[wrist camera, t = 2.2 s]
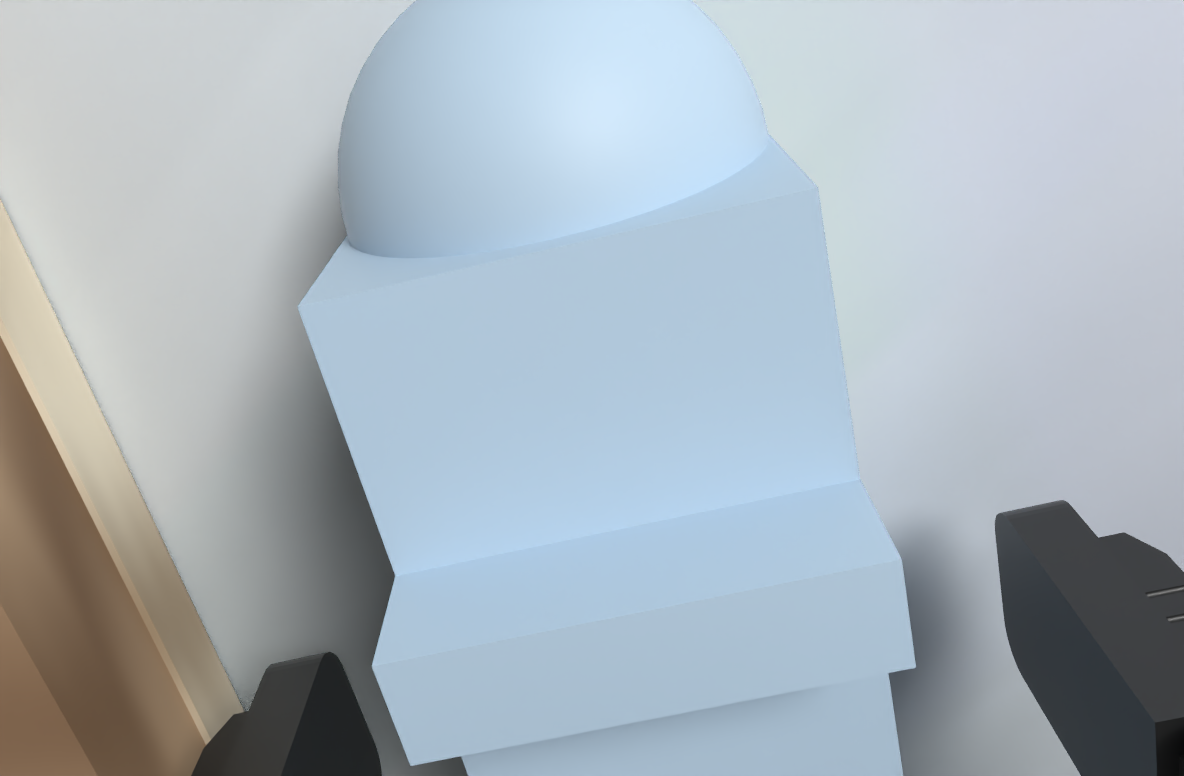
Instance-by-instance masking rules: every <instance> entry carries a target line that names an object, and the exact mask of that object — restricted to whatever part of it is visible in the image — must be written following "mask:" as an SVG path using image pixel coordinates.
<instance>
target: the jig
mask: <svg viewBox="0 0 1184 776" xmlns="http://www.w3.org/2000/svg"><path fill="white" fill-rule="evenodd" d="M242 712H244V710H243V708H242V706H241V704H240V702H239V700H238V697H237V695H236V693H235V691H234V689H233V687H232V685H231V683H230V681H229V678H228V676H227V674H226V672H225V670H224V668H223V666H222V664H221V662H220V660H219V657H218V655H217V653H216V651H215V649H214V647H213V645H212V643H211V641H210V639H209V636H208V634H207V632H206V630H205V628H204V626H203V624H202V622H201V620H200V618H199V615H198V613H197V611H196V609H195V607H194V605H193V603H192V601H191V599H190V597H189V594H188V592H187V590H186V588H185V586H184V584H183V582H182V580H181V578H180V575H179V573H178V571H177V569H176V567H175V565H174V563H173V561H172V559H171V557H170V554H169V552H168V550H167V548H166V546H165V544H164V542H163V540H162V538H161V536H160V533H159V531H158V529H157V527H156V525H155V523H154V521H153V519H152V517H151V515H150V512H149V510H148V508H147V506H146V504H145V502H144V500H143V498H142V496H141V494H140V491H139V489H138V487H137V485H136V483H135V481H134V479H133V477H132V475H131V472H130V470H129V468H128V466H127V464H126V462H125V460H124V458H123V456H122V454H121V451H120V449H119V447H118V445H117V443H116V441H115V439H114V437H113V435H112V433H111V430H110V428H109V426H108V424H107V422H106V420H105V418H104V416H103V414H102V412H101V409H100V407H99V405H98V403H97V401H96V399H95V397H94V395H93V393H92V391H91V388H90V386H89V384H88V382H87V380H86V378H85V376H84V374H83V372H82V369H81V367H80V365H79V363H78V361H77V359H76V357H75V355H74V353H73V351H72V348H71V346H70V344H69V342H68V340H67V338H66V336H65V334H64V332H63V330H62V327H61V325H60V323H59V321H58V319H57V317H56V315H55V313H54V311H53V309H52V306H51V304H50V302H49V300H48V298H47V296H46V294H45V292H44V290H43V288H42V285H41V283H40V281H39V279H38V277H37V275H36V273H35V271H34V269H33V266H32V264H31V262H30V260H29V258H28V256H27V254H26V252H25V250H24V248H23V245H22V243H21V241H20V239H19V237H18V235H17V233H16V231H15V229H14V227H13V224H12V222H11V220H10V218H9V216H8V214H7V212H6V210H5V208H4V206H3V203H2V201H1V199H0V776H191V775H192V773H193V770H194V768H195V766H196V764H197V762H198V759H199V757H200V755H201V753H202V750H203V748H204V747H205V746H206V745H207V744H208V743H209V741H210V740H211V739H212V738H213V737H214V736H215V735H216V734H217V732H218V731H219V730H220V729H221V728H222V727H223V726H224V725H225V723H226V722H227V721H228V720H229V719H230V718H231V717H232V716H233V714H238V713H242Z"/></svg>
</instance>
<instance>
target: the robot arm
mask: <svg viewBox="0 0 1184 776" xmlns="http://www.w3.org/2000/svg"><path fill="white" fill-rule="evenodd" d="M995 534H996V544H997V554H998V563H999V573H1000V583H1001V593H1002V602H1003V612H1004V621H1005V627H1006V632H1007V637H1008V640H1009V644H1010V647H1011V651H1012V654H1013V656H1014V659H1015V662H1016V664H1017V666H1018V669H1019V671H1020V673H1021V675H1022V677H1023V678H1024V680H1025V682H1026V683H1027V685H1028V687H1029V689H1030V690H1031V692H1032V694H1033V695H1034V697H1035V699H1036V700H1037V702H1038V704H1039V705H1040V707H1041V709H1042V710H1043V712H1044V714H1045V716H1046V717H1047V719H1048V721H1049V722H1050V724H1051V726H1052V727H1053V729H1054V731H1055V732H1056V734H1057V736H1058V738H1059V739H1060V741H1061V743H1062V744H1063V746H1064V748H1065V749H1066V751H1067V753H1068V754H1069V756H1070V758H1071V759H1072V761H1073V763H1074V765H1075V766H1076V768H1077V770H1078V771H1079V773H1080V775H1081V776H1184V572H1183V571H1182V570H1181V569H1180V568H1179V567H1178V566H1177V565H1176V563H1175V562H1174V561H1173V560H1172V559H1171V558H1170V557H1169V556H1168V555H1167V554H1166V553H1164V552H1162V551H1160V550H1158V549H1156V548H1154V547H1152V546H1150V545H1148V544H1146V543H1144V542H1142V541H1140V540H1138V539H1136V538H1134V537H1132V536H1130V535H1128V534H1126V533H1119V534H1114V535H1110V536H1105V537H1100V538H1098V537H1097V536H1096V535H1095V534H1094V532H1093V531H1092V530H1091V529H1090V528H1089V526H1088V525H1087V524H1086V523H1085V522H1084V521H1083V519H1082V518H1081V517H1080V516H1079V515H1078V514H1077V512H1076V511H1075V510H1074V509H1073V508H1072V506H1071V505H1070V504H1069V503H1067V502H1066V501H1064V500H1060V501H1055V502H1051V503H1046V504H1041V505H1036V506H1032V507H1027V508H1022V509H1017V510H1012V511H1008V512H1003V513H999V514H998V515H997V516H996V520H995ZM191 776H382V774H381V766H380V760H379V755H378V752H377V748H376V746H375V743H374V741H373V738H372V736H371V733H370V731H369V728H368V726H367V724H366V721H365V719H364V716H363V714H362V712H361V709H360V707H359V704H358V702H357V700H356V697H355V695H354V692H353V690H352V687H351V685H350V683H349V680H348V678H347V675H346V673H345V671H344V668H343V666H342V664H341V662H340V660H339V659H338V657H337V656H336V655H335V654H333V653H331V652H327V653H322V654H317V655H313V656H308V657H303V658H298V659H294V660H289V661H284V662H279V663H275V664H271V665H270V666H269V667H268V668H267V669H266V671H265V673H264V675H263V678H262V680H261V683H260V685H259V687H258V690H257V692H256V695H255V697H254V699H253V702H252V704H251V707H250V709H249V711H247V712H242V713H238V714H233V716H232V717H231V718H230V719H229V720H228V721H227V722H226V723H225V725H224V726H223V727H222V728H221V729H220V730H219V731H218V732H217V734H216V735H215V736H214V737H213V738H212V739H211V740H210V741H209V743H208V744H207V745H206V746H205V747H204V748H203V750H202V753H201V755H200V757H199V759H198V762H197V764H196V766H195V768H194V770H193V773H192V775H191Z"/></svg>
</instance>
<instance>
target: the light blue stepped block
mask: <svg viewBox="0 0 1184 776" xmlns="http://www.w3.org/2000/svg"><path fill="white" fill-rule="evenodd" d="M338 188H339V196H340V204H341V212H342V217H343V221H344V224H345V228H346V232H347V236H346V237H345V239H344V240H343V242H342V243H341V245H340V246H339V248H338V249H337V250H336V252H335V253H334V255H333V256H332V258H331V259H330V261H329V262H328V263H327V265H326V266H325V268H324V269H323V271H322V272H321V274H320V275H319V276H318V278H317V279H316V281H315V282H314V284H313V285H312V286H311V288H310V289H309V291H308V292H307V294H306V295H305V297H304V298H303V299H302V301H301V302H300V304H299V305H298V310H299V313H300V316H301V318H302V321H303V324H304V327H305V329H306V332H307V335H308V337H309V340H310V343H311V346H312V348H313V351H314V354H315V357H316V359H317V362H318V365H319V368H320V370H321V373H322V376H323V379H324V381H325V384H326V387H327V390H328V392H329V395H330V398H331V401H332V403H333V406H334V409H335V412H336V414H337V417H338V420H339V423H340V425H341V428H342V431H343V434H344V436H345V439H346V442H347V445H348V447H349V450H350V453H351V456H352V458H353V461H354V464H355V467H356V469H357V472H358V475H359V478H360V480H361V483H362V486H363V488H364V491H365V494H366V497H367V499H368V502H369V505H370V508H371V510H372V513H373V516H374V519H375V521H376V524H377V527H378V530H379V532H380V535H381V538H382V541H383V543H384V546H385V549H386V552H387V554H388V557H389V560H390V563H391V565H392V568H393V571H394V574H395V579H394V583H393V587H392V591H391V595H390V598H389V602H388V606H387V610H386V614H385V617H384V621H383V625H382V629H381V633H380V636H379V640H378V644H377V648H376V652H375V656H374V659H373V663H372V669H373V671H374V674H375V676H376V679H377V682H378V684H379V687H380V689H381V692H382V694H383V697H384V699H385V702H386V705H387V707H388V710H389V712H390V715H391V717H392V720H393V722H394V725H395V728H396V730H397V733H398V735H399V738H400V740H401V743H402V745H403V748H404V751H405V753H406V756H407V758H408V761H409V763H410V766H413V765H418V764H424V763H429V762H434V761H439V760H444V759H449V758H454V757H460V756H461V758H462V760H463V763H464V766H465V768H466V771H467V774H468V776H903V770H902V763H901V756H900V750H899V743H898V736H897V729H896V722H895V715H894V708H893V701H892V694H891V687H890V681H889V674H888V673H891V672H896V671H902V670H907V669H912V668H916V663H915V656H914V648H913V641H912V633H911V625H910V618H909V610H908V602H907V595H906V587H905V580H904V572H903V564H902V559H901V557H900V555H899V553H898V551H897V549H896V547H895V545H894V543H893V541H892V539H891V537H890V535H889V534H888V532H887V530H886V528H885V526H884V524H883V522H882V520H881V518H880V516H879V514H878V512H877V510H876V508H875V507H874V505H873V503H872V501H871V499H870V497H869V495H868V493H867V491H866V489H865V487H864V485H863V483H862V481H861V479H860V473H859V467H858V460H857V453H856V446H855V439H854V432H853V425H852V418H851V411H850V404H849V398H848V391H847V384H846V377H845V370H844V363H843V356H842V349H841V342H840V335H839V329H838V322H837V315H836V308H835V301H834V294H833V287H832V280H831V273H830V266H829V260H828V253H827V246H826V239H825V232H824V225H823V218H822V211H821V204H820V197H819V191H818V187H817V186H816V185H815V184H814V183H813V181H812V180H811V179H810V178H809V177H808V176H807V175H806V174H805V173H804V172H803V171H802V169H801V168H800V167H799V166H798V165H797V164H796V163H795V162H794V161H793V160H792V159H791V157H790V156H789V155H788V154H787V153H786V152H785V151H784V150H783V149H782V148H781V147H780V146H779V144H778V143H777V142H776V141H775V140H774V139H773V138H772V137H771V136H770V135H769V134H768V130H767V125H766V121H765V117H764V112H763V108H762V106H761V103H760V100H759V98H758V95H757V92H756V90H755V87H754V84H753V82H752V80H751V78H750V76H749V74H748V72H747V70H746V69H745V67H744V65H743V63H742V61H741V59H740V57H739V56H738V54H737V52H736V50H735V49H734V48H733V46H732V45H731V44H730V42H729V41H728V39H727V38H726V37H725V35H724V34H723V33H722V31H721V30H720V29H719V27H718V26H717V25H716V24H715V23H714V22H713V21H712V20H711V19H710V18H709V17H708V16H707V15H706V14H705V13H704V12H703V11H702V9H701V8H700V7H699V6H698V5H696V4H695V3H694V2H692V1H691V0H416V1H415V2H414V3H413V4H412V5H410V6H409V7H408V8H407V9H406V10H405V11H404V12H403V13H402V14H401V15H400V16H399V17H398V18H397V19H396V20H395V22H394V23H393V24H392V25H391V26H390V28H389V29H388V30H387V31H386V32H385V34H384V35H383V36H382V37H381V39H380V40H379V41H378V43H377V44H376V46H375V48H374V49H373V51H372V52H371V54H370V56H369V57H368V59H367V61H366V62H365V64H364V65H363V67H362V69H361V71H360V74H359V76H358V78H357V80H356V83H355V85H354V87H353V90H352V92H351V94H350V97H349V101H348V104H347V108H346V112H345V115H344V119H343V122H342V129H341V136H340V143H339V150H338Z"/></svg>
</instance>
